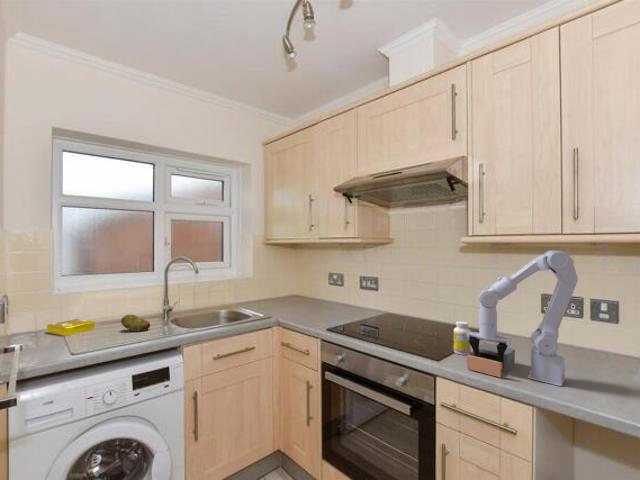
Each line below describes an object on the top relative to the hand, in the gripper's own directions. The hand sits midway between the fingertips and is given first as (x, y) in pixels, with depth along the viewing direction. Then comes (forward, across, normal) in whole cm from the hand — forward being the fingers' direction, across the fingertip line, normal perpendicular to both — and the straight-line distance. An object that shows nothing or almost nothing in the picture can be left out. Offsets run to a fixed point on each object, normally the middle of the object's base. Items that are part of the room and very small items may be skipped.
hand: (487, 360), depth 120 cm
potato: (+3, +145, +73) cm, 163 cm away
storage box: (+3, 0, -8) cm, 9 cm away
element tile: (+3, +166, +96) cm, 192 cm away
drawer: (+3, 0, 0) cm, 3 cm away
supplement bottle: (+4, +14, -13) cm, 19 cm away
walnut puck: (+2, 0, 0) cm, 2 cm away
